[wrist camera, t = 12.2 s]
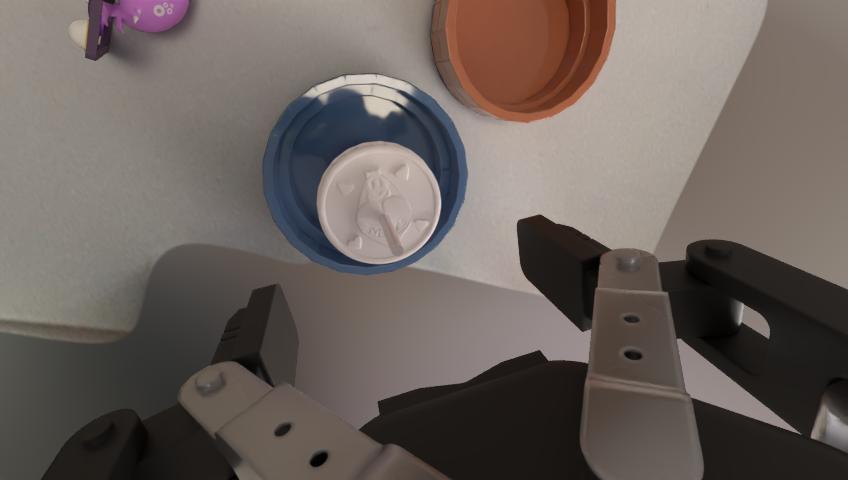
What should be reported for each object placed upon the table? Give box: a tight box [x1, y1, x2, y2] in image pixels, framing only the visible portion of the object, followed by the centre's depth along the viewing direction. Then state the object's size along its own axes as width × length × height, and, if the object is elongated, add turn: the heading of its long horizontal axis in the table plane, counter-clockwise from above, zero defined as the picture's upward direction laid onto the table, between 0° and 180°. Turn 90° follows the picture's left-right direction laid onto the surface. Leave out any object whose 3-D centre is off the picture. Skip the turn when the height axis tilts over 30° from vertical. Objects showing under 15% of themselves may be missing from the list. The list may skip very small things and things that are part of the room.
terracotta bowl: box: [431, 0, 616, 123], centre depth 26 cm, size 11×11×4 cm
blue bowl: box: [262, 73, 468, 275], centre depth 27 cm, size 13×13×4 cm
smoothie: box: [317, 141, 441, 264], centre depth 23 cm, size 6×6×14 cm
